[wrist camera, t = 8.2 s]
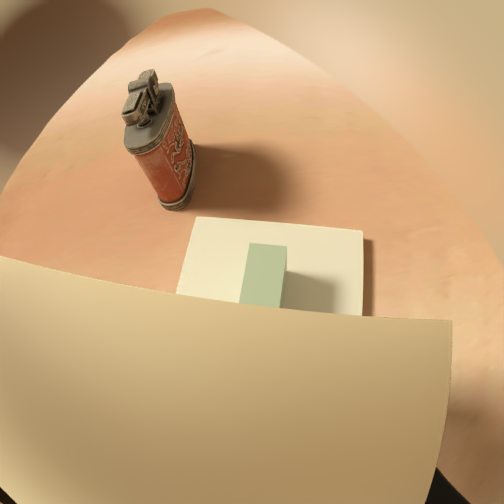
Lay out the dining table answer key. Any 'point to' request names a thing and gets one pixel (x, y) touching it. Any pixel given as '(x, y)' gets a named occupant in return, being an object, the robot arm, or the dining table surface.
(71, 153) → the dining table surface
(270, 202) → the dining table surface
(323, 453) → the birch slotted block
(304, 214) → the dining table surface
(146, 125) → the lighter
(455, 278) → the dining table surface
